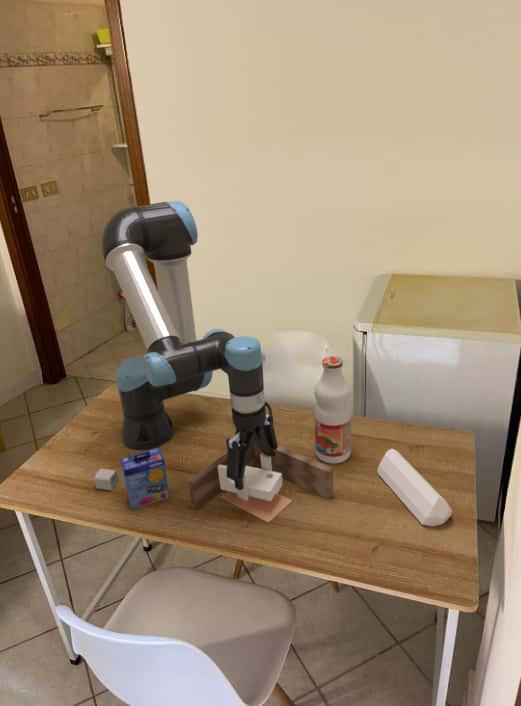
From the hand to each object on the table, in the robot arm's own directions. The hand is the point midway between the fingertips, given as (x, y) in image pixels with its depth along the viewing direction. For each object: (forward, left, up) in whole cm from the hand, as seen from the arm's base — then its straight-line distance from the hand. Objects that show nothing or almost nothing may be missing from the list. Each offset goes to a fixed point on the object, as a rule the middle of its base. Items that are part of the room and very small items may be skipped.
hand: (255, 487), depth 132 cm
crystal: (+29, +23, -4) cm, 37 cm away
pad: (0, 0, -4) cm, 4 cm away
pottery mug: (-23, +26, -4) cm, 35 cm away
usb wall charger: (-36, -19, -4) cm, 41 cm away
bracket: (-1, 0, -1) cm, 1 cm away
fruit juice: (+5, +26, -4) cm, 27 cm away
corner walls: (+2, +1, -4) cm, 4 cm away
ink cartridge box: (-22, -15, -4) cm, 27 cm away
